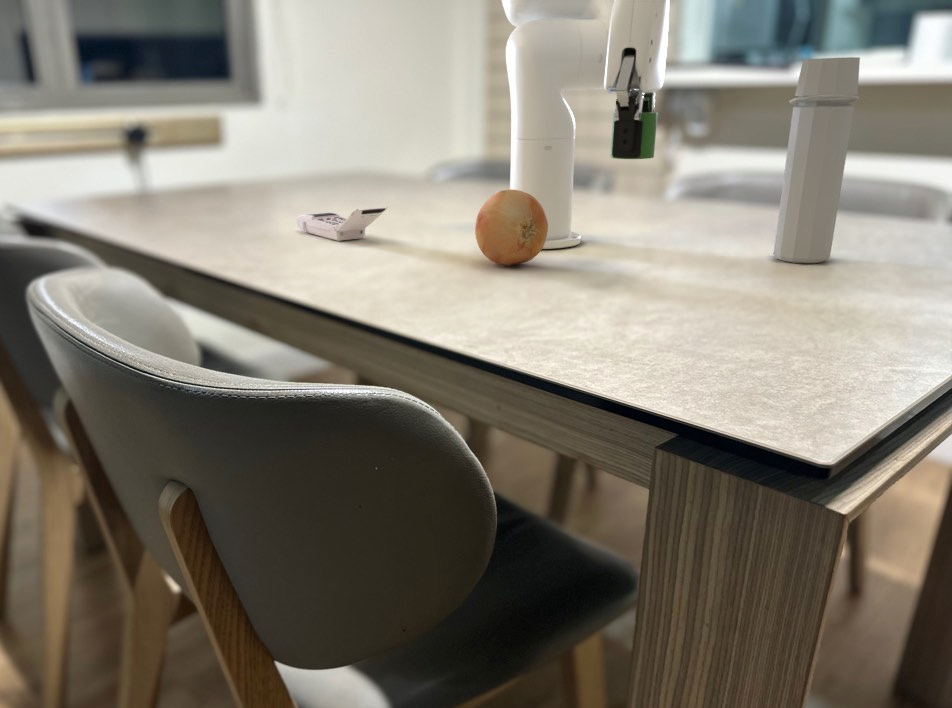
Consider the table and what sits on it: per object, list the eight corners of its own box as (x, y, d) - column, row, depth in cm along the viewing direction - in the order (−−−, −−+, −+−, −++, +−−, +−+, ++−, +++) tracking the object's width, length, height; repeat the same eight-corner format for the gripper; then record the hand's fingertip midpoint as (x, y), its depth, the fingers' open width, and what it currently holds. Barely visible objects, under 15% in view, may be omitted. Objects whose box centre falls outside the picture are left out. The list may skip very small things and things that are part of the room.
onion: (505, 275, 104) (506, 196, 100) (460, 264, 112) (460, 189, 108) (562, 266, 109) (565, 189, 105) (515, 255, 117) (516, 184, 113)
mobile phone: (357, 209, 123) (287, 195, 143) (358, 248, 125) (289, 229, 145) (391, 206, 126) (317, 193, 146) (391, 244, 128) (319, 226, 148)
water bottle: (840, 265, 105) (874, 56, 96) (775, 264, 106) (803, 58, 98) (821, 252, 113) (851, 59, 104) (761, 251, 115) (786, 61, 106)
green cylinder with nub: (605, 158, 95) (608, 108, 93) (616, 155, 99) (619, 106, 97) (648, 159, 93) (653, 107, 91) (657, 156, 97) (662, 106, 95)
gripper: (629, -7, 98) (618, 150, 104) (590, -22, 84) (580, 161, 90) (693, -12, 94) (678, 150, 101) (664, -28, 80) (648, 162, 87)
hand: (632, 153), depth 96 cm, fingers closed on green cylinder with nub, 5 cm apart
